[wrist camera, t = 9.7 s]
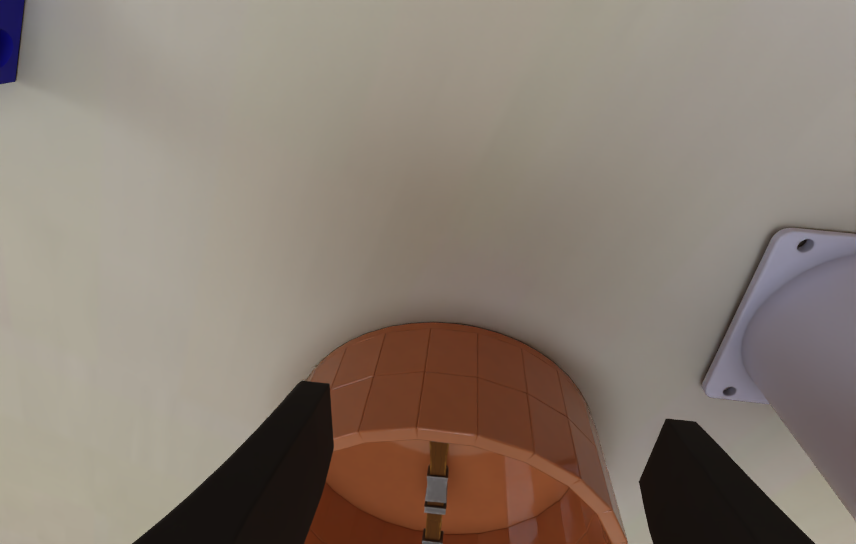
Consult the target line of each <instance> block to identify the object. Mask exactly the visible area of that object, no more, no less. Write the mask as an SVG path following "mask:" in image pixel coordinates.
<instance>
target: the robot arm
mask: <svg viewBox="0 0 856 544" xmlns="http://www.w3.org/2000/svg"><path fill="white" fill-rule="evenodd" d="M805 239H807V242H806V243H805V244H804V245H803V246H801V247H797V246H798V244H799V243H800V242H801V241H803V240H805ZM728 387H730V388H728ZM725 388H728V389H725ZM702 389H703V391H704V392H705V394H706V395H707V396H708V397H712V398H719V399H727V400H736V401H745V402H754V403H763V404H770V405H771V406H772V407H773V409H774V410H775V412H776V413H777V414H778V416H779V417H780V418H781V420H782V421H783V422H784V424H785V425H786V427H787V428H788V429H789V431H790V432H791V433H792V435H793V436H794V438H795V439H796V440H797V442H798V443H799V444H800V446H801V447H802V448H803V450H804V451H805V453H806V454H807V455H808V457H809V458H810V459H811V461H812V462H813V463H814V465H815V466H816V468H817V469H818V470H819V472H820V473H821V474H822V476H823V477H824V479H825V480H826V481H827V483H828V484H829V485H830V487H831V488H832V489H833V491H834V492H835V494H836V495H837V496H838V498H839V499H840V500H841V502H842V503H843V505H844V506H845V507H846V509H847V510H848V511H849V513H850V514H851V515H852V517H853V518H854V520H855V521H856V234H853V233H843V232H833V231H822V230H812V229H801V228H785V229H782V230H780V231H778V232H777V233H776V234H774V236H773V237H772V239H771V240H770V243H769V245H768V247H767V249H766V251H765V253H764V255H763V257H762V259H761V261H760V264H759V266H758V268H757V270H756V272H755V274H754V276H753V278H752V280H751V282H750V284H749V287H748V289H747V291H746V293H745V295H744V297H743V299H742V301H741V303H740V305H739V307H738V310H737V312H736V314H735V316H734V318H733V320H732V322H731V324H730V326H729V328H728V331H727V333H726V335H725V337H724V339H723V341H722V343H721V345H720V347H719V349H718V351H717V354H716V356H715V358H714V360H713V362H712V364H711V366H710V368H709V370H708V372H707V374H706V377H705V379H704V381H703V383H702ZM333 450H334V440H333V426H332V412H331V398H330V383H320V382H310V381H301V382H300V383H298V384H297V385H296V387H295V388H294V389H293V390H292V391H291V392H290V393H289V395H288V396H287V397H286V398H285V399H284V400H283V401H282V403H281V404H280V405H279V406H278V407H277V408H276V409H275V410H274V411H273V412H272V414H271V415H270V416H269V417H268V418H267V419H266V420H265V421H264V422H263V423H262V424H261V425H260V427H259V428H258V429H257V430H256V431H255V432H254V433H253V434H252V435H251V436H250V437H249V438H248V439H247V440H246V441H245V442H244V443H243V444H242V445H241V446H240V447H239V448H238V449H237V450H236V451H235V452H234V453H233V454H232V455H231V456H230V457H229V458H228V459H227V460H226V461H225V462H224V463H223V464H222V465H221V466H220V467H219V468H218V469H217V470H216V471H215V472H214V473H213V474H212V475H211V476H209V477H208V478H207V479H206V480H205V481H204V482H203V483H202V484H201V485H200V486H199V487H198V488H197V489H196V490H195V491H193V492H192V493H191V494H190V495H189V496H188V497H187V498H186V499H185V500H184V501H182V502H181V503H180V504H179V505H178V506H177V507H176V508H174V509H173V510H172V511H171V512H170V513H169V514H168V515H166V516H165V517H164V518H163V519H162V520H160V521H159V522H158V523H157V524H156V525H154V526H153V527H152V528H151V529H150V530H148V531H147V532H146V533H145V534H143V535H142V536H141V537H140V538H139V539H137V540H136V541H135V542H134V543H132V544H304V543H305V540H306V537H307V535H308V532H309V529H310V526H311V524H312V521H313V518H314V515H315V513H316V510H317V507H318V504H319V502H320V499H321V496H322V493H323V489H324V486H325V482H326V478H327V474H328V470H329V466H330V462H331V458H332V454H333ZM639 484H640V489H641V494H642V499H643V504H644V509H645V514H646V518H647V522H648V527H649V531H650V534H651V537H652V541H653V544H815V543H814V542H813V541H812V540H811V539H810V538H809V537H808V536H807V535H806V534H805V533H804V532H803V531H802V530H801V529H800V528H799V527H798V526H797V525H796V524H795V523H794V522H793V521H792V520H791V519H790V518H789V517H788V516H787V515H786V514H785V513H784V512H783V511H782V510H781V509H780V508H779V507H778V506H777V505H776V504H775V503H774V502H773V501H772V500H771V499H770V498H769V497H768V496H767V495H766V494H765V493H764V492H763V491H762V490H761V489H760V488H759V487H758V486H757V485H756V484H755V483H754V482H753V481H752V480H751V479H750V477H749V476H748V475H747V474H746V473H745V472H744V471H743V470H742V469H741V468H740V467H739V466H738V465H737V464H736V463H735V462H734V461H733V460H732V459H731V458H730V457H729V455H728V454H727V453H726V452H725V451H724V450H723V449H722V448H721V447H720V446H719V445H718V444H717V443H716V442H715V441H714V440H713V439H712V438H711V437H710V436H709V435H708V434H707V433H706V432H705V431H704V430H703V429H702V428H701V427H700V426H699V425H698V424H697V423H696V422H693V421H683V420H674V419H666V420H665V422H664V424H663V427H662V429H661V431H660V434H659V436H658V438H657V441H656V443H655V445H654V448H653V450H652V452H651V455H650V457H649V459H648V462H647V464H646V466H645V469H644V471H643V474H642V476H641V478H640V481H639Z"/></svg>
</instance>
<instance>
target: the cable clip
mask: <svg viewBox="0 0 856 544" xmlns="http://www.w3.org/2000/svg"><path fill="white" fill-rule="evenodd" d="M23 9H24V0H0V84H4V83H9V82H15V79H16V70H17V62H18V53H19V44H20V35H21V26H22V17H23Z"/></svg>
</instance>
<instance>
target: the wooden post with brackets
mask: <svg viewBox="0 0 856 544" xmlns="http://www.w3.org/2000/svg"><path fill="white" fill-rule="evenodd" d="M429 443H430V465H428V471H427V488H426V495H425V504H424V507H425V509H424V513H427V519H426V529H425V528H424V529H423V536H422V544H443V533H444V531H441V527H442V515H445V514H446V505H447V484H448V483H447V481H448V472H449V467H448V465H446V462H447V455H448V448H449V443H442V442H433V441H429Z"/></svg>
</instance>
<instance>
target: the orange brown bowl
mask: <svg viewBox="0 0 856 544" xmlns="http://www.w3.org/2000/svg"><path fill="white" fill-rule="evenodd" d="M306 381H310V382H320V383H330V398H331V412H332V426H333V440H334V450H333V454H332V458H331V462H330V466H329V470H328V474H327V478H326V482H325V486H324V489H323V493H322V496H321V499H320V502H319V504H318V507H317V510H316V513H315V515H314V518H313V521H312V524H311V526H310V529H309V532H308V535H307V537H306V540H305V543H304V544H422V536H423V529H424V528H425V529H426V519H427V513H424V509H425V507H424V504H425V495H426V488H427V471H428V465H430V443H429V441H433V442H442V443H449V448H448V455H447V462H446V465H448V467H449V472H448V481H447V483H448V484H447V505H446V514H445V515H442V527H441V531H444V533H443V544H628V541H627V537H626V533H625V530H624V526H623V523H622V519H621V516H620V512H619V508H618V505H617V501H616V498H615V494H614V491H613V487H612V483H611V480H610V476H609V473H608V469H607V465H606V462H605V458H604V455H603V451H602V448H601V444H600V440H599V437H598V433H597V430H596V426H595V424H594V422H593V419H592V417H591V414H590V411H589V408H588V405H587V403H586V401H585V399H584V398H583V396H582V394H581V392H580V390H579V389H578V388H577V387H576V385H575V384H574V383H573V381H572V380H571V379H570V378H569V376H568V375H567V374H565V373H564V372H563V371H562V370H561V369H560V368H559V367H558V366H557V365H556V364H555V363H554V362H552V361H551V360H549V359H548V358H547V357H545V356H544V355H542V354H541V353H540V352H538V351H536V350H535V349H533V348H531V347H529V346H527V345H525V344H524V343H522V342H520V341H517V340H515V339H512V338H510V337H507V336H505V335H502V334H500V333H497V332H493V331H489V330H486V329H482V328H478V327H473V326H467V325H461V324H454V323H436V322H428V323H410V324H404V325H398V326H391V327H387V328H383V329H380V330H376V331H373V332H369V333H367V334H364V335H362V336H360V337H357V338H355V339H353V340H351V341H349V342H347V343H346V344H344V345H342V346H341V347H339V348H337V349H336V350H334V351H333V352H332V353H330V354H329V355H328V356H327V357H326V358H324V359H323V360H322V361H321V362H320V363H319V364H318V365H317V367H316V368H315V369H314V370H313V371H312V372H311V374H310V375H309V377H308V378H307V380H306Z"/></svg>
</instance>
